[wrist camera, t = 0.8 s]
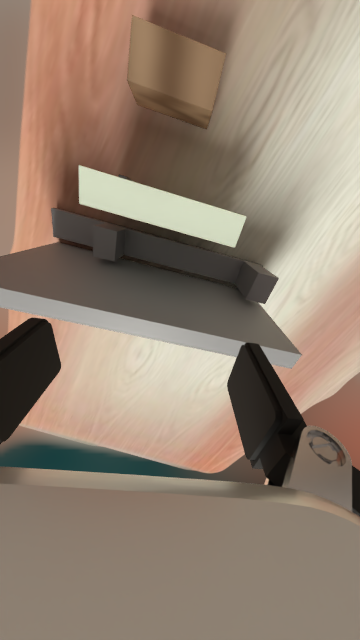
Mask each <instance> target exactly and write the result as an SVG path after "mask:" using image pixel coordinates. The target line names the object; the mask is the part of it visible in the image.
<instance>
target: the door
mask: <svg viewBox="0 0 360 640" xmlns="http://www.w3.org/2000/svg"><path fill="white" fill-rule="evenodd" d="M79 204H82V205H85V206H89V207H92V208H96V209H99V210H103V211H107V212H110V213H114V214H117V215H121V216H124V217H128V218H131V219H135V220H138V221H142V222H145V223H149V224H152V225H156V226H159V227H163V228H167V229H170V230H174V231H177V232H181V233H184V234H188V235H191V236H195V237H198V238H202V239H205V240H209V241H212V242H216V243H220V244H223V245H227V246H230V247H234V248H235V246H236V243H237V241H238V238H239V236H240V233H241V230H242V228H243V225H244V222H245V220H246V217H247V216H244V215H240V214H237V213H234V212H230V211H227V210H224V209H221V208H217V207H214V206H211V205H208V204H204V203H201V202H198V201H195V200H191V199H188V198H185V197H182V196H178V195H175V194H172V193H168V192H165V191H162V190H159V189H155V188H152V187H149V186H146V185H142V184H139V183H136V182H134V181H132V180H131V179H129V178H128V177H125V176H122V175H119V177H116V176H113V175H110V174H106V173H103V172H100V171H97V170H93V169H90V168H87V167H84V166H80V165H79Z"/></svg>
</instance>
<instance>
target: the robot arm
mask: <svg viewBox="0 0 360 640" xmlns="http://www.w3.org/2000/svg"><path fill="white" fill-rule="evenodd" d="M60 369H61V362H60V358H59V354H58V350H57V346H56V342H55V338H54V334H53V329H52V325H51V324H50V323H48V321H47V320H46V319H40V318H30V319H28V320H27V321H25V322H24V323H22V324H21V325H19V326H18V327H17V328H15V329H14V330H12V331H11V332H9V333H8V334H7V335H5V336H4V337H2V338H1V339H0V444H1V443H2V442H3V441H6V440H7V439H8V438H9V437H10V436H11V434H12V433H13V432H14V431H15V429H16V428H17V427H18V425H19V424H20V423H21V421H22V420H23V419H24V417H25V416H26V415H27V413H28V412H29V411H30V409H31V408H32V407H33V406H34V404H35V403H36V402H37V400H38V399H39V398H40V396H41V395H42V394H43V392H44V391H45V390H46V388H47V387H48V386H49V384H50V383H51V382H52V381H53V379H54V378H55V377H56V375H57V374H58V373H59V371H60ZM227 387H228V392H229V395H230V399H231V403H232V407H233V410H234V414H235V418H236V422H237V425H238V429H239V433H240V437H241V440H242V444H243V448H244V452H245V455H246V457H247V459H249V460H250V461H251V465H252V468H255V469H263V470H264V472H265V476H266V477H267V478H266V481H265V484H264V485H261V484H250V483H239V482H228V481H215V480H200V479H186V478H170V477H157V476H142V475H127V474H112V473H96V472H80V471H65V470H49V469H32V468H15V467H0V640H360V471H359V470H358V469H356V468H355V467H353V466H352V463H351V458H350V456H349V454H348V452H347V450H346V449H345V447H344V446H343V445H342V443H341V442H339V440H338V439H337V438H335V437H334V436H333V435H332V434H330V433H329V432H327V431H325V430H324V429H322V428H319V427H316V426H306V424H305V422H304V420H303V418H302V416H301V414H300V412H299V411H298V409H297V407H296V406H295V404H294V402H293V401H292V399H291V397H290V396H289V394H288V392H287V391H286V389H285V387H284V385H283V384H282V382H281V380H280V379H279V377H278V375H277V374H276V372H275V370H274V369H273V367H272V365H271V364H270V362H269V360H268V358H267V357H266V355H265V353H264V352H263V350H262V348H261V347H260V345H259V344H257V343H248V342H247V343H245V345H242V346H241V348H240V350H239V353H238V356H237V358H236V361H235V364H234V366H233V369H232V372H231V374H230V377H229V380H228V383H227Z"/></svg>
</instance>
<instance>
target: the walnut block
mask: <svg viewBox="0 0 360 640" xmlns="http://www.w3.org/2000/svg"><path fill="white" fill-rule="evenodd" d="M225 56H226V53H224V52H221V51H219V50H216V49H214V48H212V47H209V46H207V45H204V44H202V43H199V42H197V41H194V40H192V39H190V38H187V37H185V36H182V35H180V34H177V33H175V32H173V31H170V30H168V29H165V28H163V27H160V26H158V25H155V24H153V23H151V22H148V21H146V20H143V19H141V18H138V17H136V16H134V15H132V22H131V35H130V48H129V62H128V75H127V81H128V83H129V86H130V88H131V91H132V93H133V95H134V98H135V100H136V102H137V105H140V106H143V107H145V108H148V109H151V110H154V111H157V112H159V113H162V114H165V115H168V116H171V117H173V118H176V119H179V120H182V121H185V122H188V123H190V124H193V125H196V126H199V127H202V128H204V129H207V127H208V124H209V121H210V117H211V114H212V110H213V106H214V102H215V98H216V94H217V90H218V85H219V81H220V77H221V73H222V69H223V65H224V61H225Z"/></svg>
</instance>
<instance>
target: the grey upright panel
mask: <svg viewBox="0 0 360 640" xmlns="http://www.w3.org/2000/svg"><path fill="white" fill-rule="evenodd" d="M51 211H52V224H53V237H57V238H61V239H64V240H68V241H72V242H76V243H80V244H84V245H88V246H91V247H93V251H91V250H87V249H83V248H79V247H75V246H71V245H67V244H63V243H60V242H57V243H53V244H49V245H45V246H41V247H37V248H33V249H29V250H25V251H21V252H16V253H12V254H8V255H4V256H0V307H1V308H6V309H11V310H15V311H20V312H25V313H30V314H34V315H39V316H44V317H49V318H53V319H58V320H63V321H68V322H72V323H77V324H82V325H87V326H91V327H96V328H101V329H106V330H110V331H115V332H120V333H125V334H129V335H134V336H139V337H144V338H148V339H153V340H158V341H163V342H167V343H172V344H177V345H182V346H186V347H191V348H196V349H201V350H205V351H210V352H215V353H220V354H224V355H229V356H234V357H237V356H238V353H239V350H240V348H241V346H242V345H245V343H247V342H248V343H257V344H259V345H260V347H261V348H262V350H263V352H264V353H265V355H266V357H267V358H268V360H269V362H270V364H272V365H276V366H281V367H286V368H291V369H292V367H293V366H294V365H295V363H296V362H297V361H298V359H299V358H300V357H301V355H302V354H301V353H300V352H299V351H298V350H297V348H296V347H295V346H294V345H293V344H292V342H291V341H290V340H289V339H288V338H287V336H286V335H285V334H284V333H283V332H282V331H281V329H280V328H279V327H278V326H277V325H276V323H275V322H274V321H273V320H272V319H271V317H270V316H269V315H268V314H267V313H266V311H265V310H264V309H263V308H262V307H261V305H260V304H259V303H263V304H265V303H266V301H267V299H268V297H269V296H270V294H271V292H272V290H273V288H274V286H275V284H276V282H277V281H278V279H279V278H278V277H276V276H275V275H273V274H272V273H270V272H269V271H268V270H266V269H265V268H263V266H262V265H260V264H256V263H253V262H249V261H245V260H242V259H238V258H235V257H231V256H227V255H224V254H220V253H216V252H213V251H209V250H206V249H202V248H198V247H195V246H191V245H188V244H184V243H180V242H177V241H173V240H170V239H166V238H162V237H159V236H155V235H151V234H148V233H144V232H141V231H137V230H133V229H130V228H126V227H123V226H119V225H115V224H112V223H108V222H104V221H101V220H97V219H94V218H90V217H86V216H83V215H79V214H76V213H72V212H68V211H65V210H61V209H57V208H51ZM123 255H126V256H130V257H134V258H138V259H142V260H145V261H149V262H153V263H157V264H161V265H165V266H169V267H172V268H176V269H180V270H184V271H188V272H192V273H196V274H199V275H203V276H207V277H211V278H215V279H219V280H223V281H226V282H230V283H234V284H235V285H236V286H237V288H235V287H231V286H227V285H223V284H219V283H215V282H211V281H207V280H204V279H200V278H196V277H192V276H188V275H184V274H180V273H176V272H172V271H169V270H165V269H161V268H157V267H153V266H149V265H145V264H141V263H137V262H133V261H130V260H126V259H122V258H120V257H121V256H123ZM258 302H259V303H258Z"/></svg>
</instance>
